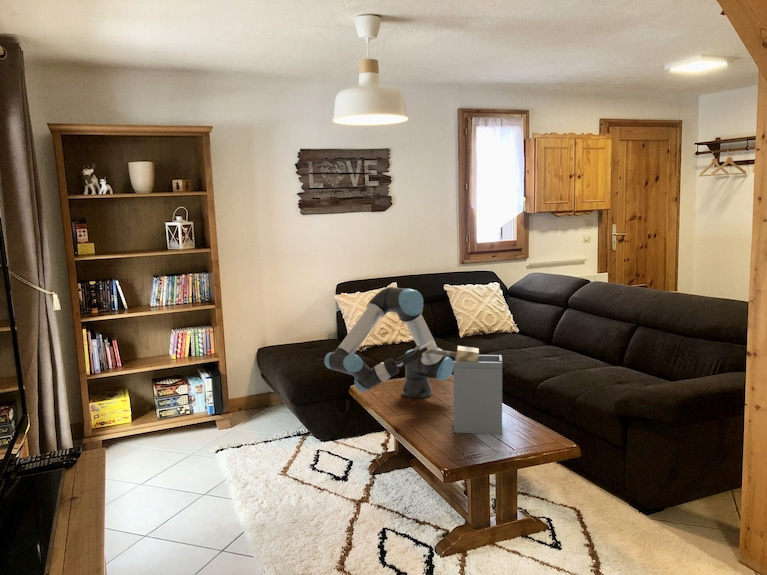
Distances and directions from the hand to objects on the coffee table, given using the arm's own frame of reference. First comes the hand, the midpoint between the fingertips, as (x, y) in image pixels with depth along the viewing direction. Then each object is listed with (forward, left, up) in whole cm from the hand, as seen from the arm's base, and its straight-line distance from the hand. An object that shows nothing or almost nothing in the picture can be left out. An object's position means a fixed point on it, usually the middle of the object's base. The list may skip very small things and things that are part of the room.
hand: (434, 343), depth 264 cm
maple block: (-1, +5, -7) cm, 9 cm away
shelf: (-4, +18, -37) cm, 41 cm away
